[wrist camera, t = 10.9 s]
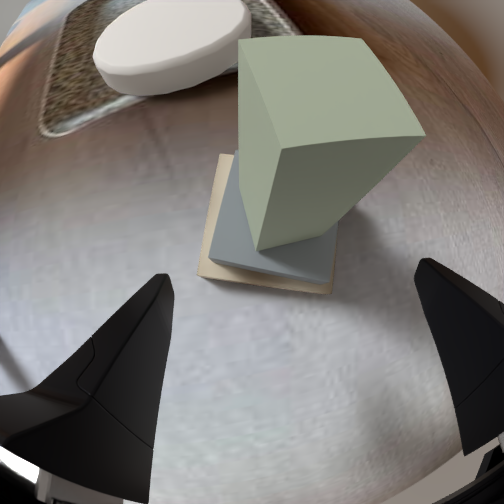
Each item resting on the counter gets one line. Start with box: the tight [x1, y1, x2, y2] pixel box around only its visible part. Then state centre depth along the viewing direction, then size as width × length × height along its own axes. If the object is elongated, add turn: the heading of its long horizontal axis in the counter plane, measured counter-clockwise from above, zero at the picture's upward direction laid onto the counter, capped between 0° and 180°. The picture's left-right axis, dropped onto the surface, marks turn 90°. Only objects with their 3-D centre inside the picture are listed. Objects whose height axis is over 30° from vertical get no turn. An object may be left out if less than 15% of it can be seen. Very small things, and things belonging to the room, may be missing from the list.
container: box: [93, 0, 251, 96], centre depth 25 cm, size 20×20×5 cm
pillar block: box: [238, 36, 426, 251], centre depth 12 cm, size 4×4×12 cm
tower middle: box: [208, 150, 339, 285], centre depth 20 cm, size 8×8×2 cm
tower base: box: [197, 154, 338, 294], centre depth 22 cm, size 10×10×2 cm
